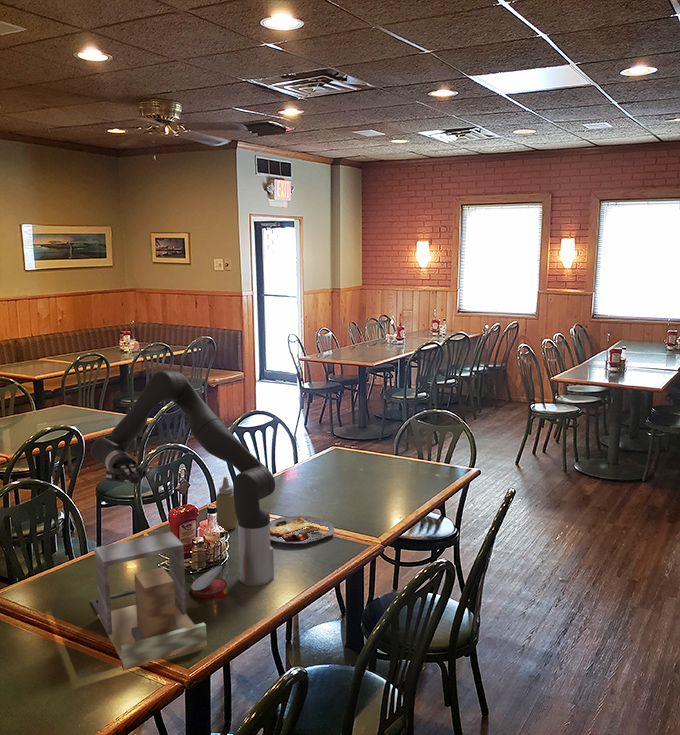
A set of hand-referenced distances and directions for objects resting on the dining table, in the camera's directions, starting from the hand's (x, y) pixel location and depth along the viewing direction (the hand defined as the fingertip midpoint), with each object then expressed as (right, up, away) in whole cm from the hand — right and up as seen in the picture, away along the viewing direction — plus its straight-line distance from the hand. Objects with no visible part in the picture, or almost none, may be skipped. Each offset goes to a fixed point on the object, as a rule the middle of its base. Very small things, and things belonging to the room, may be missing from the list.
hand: (136, 480), depth 201 cm
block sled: (+12, -35, -24) cm, 44 cm away
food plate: (+42, -25, +44) cm, 66 cm away
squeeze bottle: (+18, -24, +50) cm, 58 cm away
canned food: (+20, -32, +1) cm, 38 cm away
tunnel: (+7, -35, -16) cm, 39 cm away
